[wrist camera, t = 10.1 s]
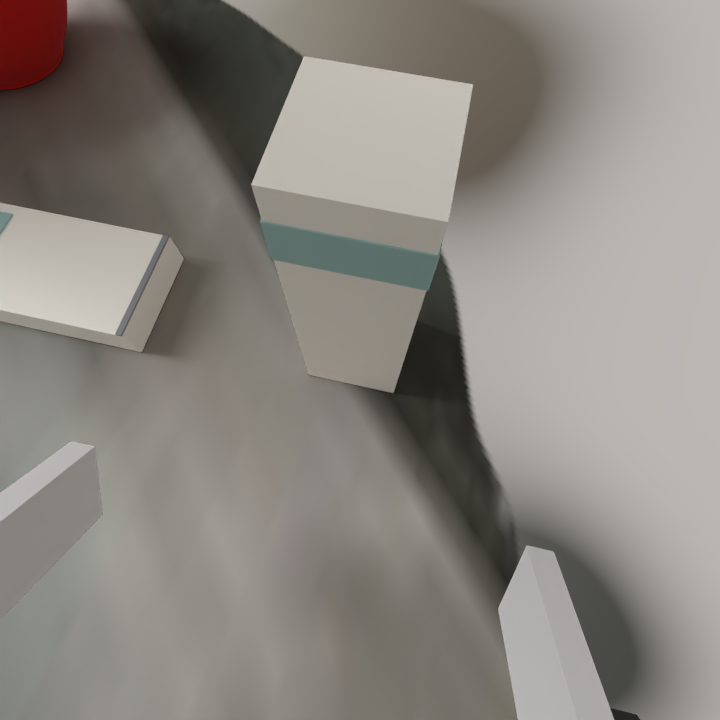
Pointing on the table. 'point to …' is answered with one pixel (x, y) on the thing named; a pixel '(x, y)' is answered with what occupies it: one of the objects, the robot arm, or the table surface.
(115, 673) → the table surface
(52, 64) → the ceramic cup
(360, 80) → the stub
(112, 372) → the table surface
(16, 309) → the strip
